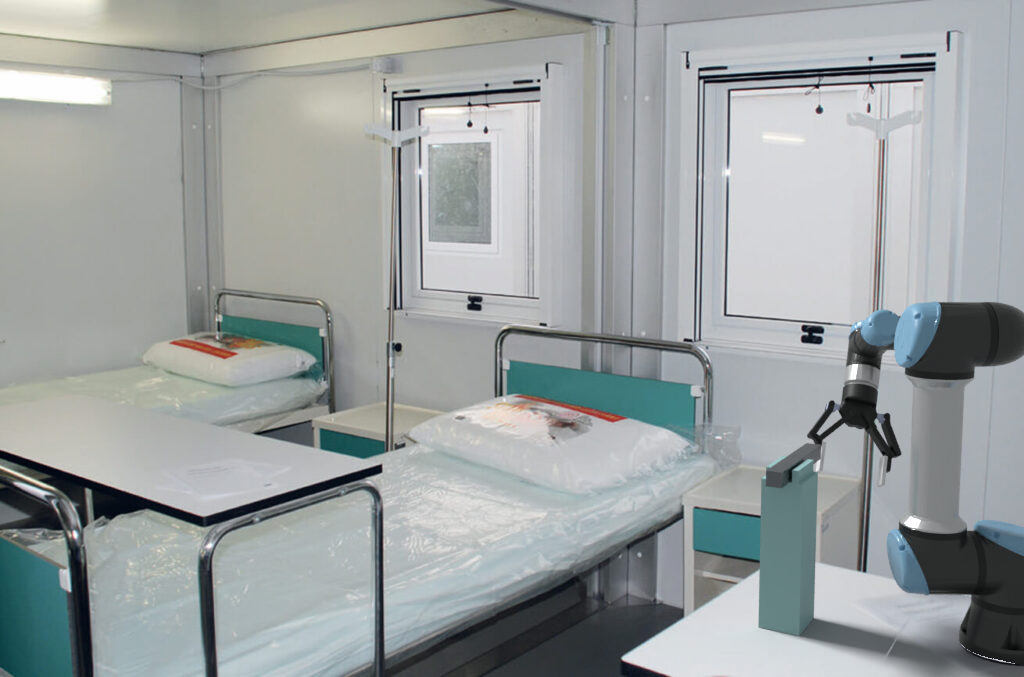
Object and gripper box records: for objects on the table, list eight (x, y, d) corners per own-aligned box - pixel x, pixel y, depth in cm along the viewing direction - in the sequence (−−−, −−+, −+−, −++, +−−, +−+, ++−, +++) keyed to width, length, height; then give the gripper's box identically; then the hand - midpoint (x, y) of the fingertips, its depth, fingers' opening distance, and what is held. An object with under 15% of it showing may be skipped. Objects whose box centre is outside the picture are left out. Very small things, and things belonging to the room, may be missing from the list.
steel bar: (806, 457, 208) (806, 443, 207) (820, 458, 206) (821, 444, 206) (765, 486, 186) (766, 470, 186) (781, 488, 184) (781, 472, 184)
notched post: (774, 609, 204) (778, 455, 200) (813, 618, 199) (818, 460, 195) (758, 627, 195) (761, 466, 191) (798, 636, 191) (803, 471, 187)
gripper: (909, 404, 227) (899, 494, 220) (801, 380, 229) (788, 469, 222) (922, 395, 220) (913, 488, 213) (811, 370, 221) (798, 462, 215)
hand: (849, 478), depth 217 cm, fingers open, 13 cm apart
